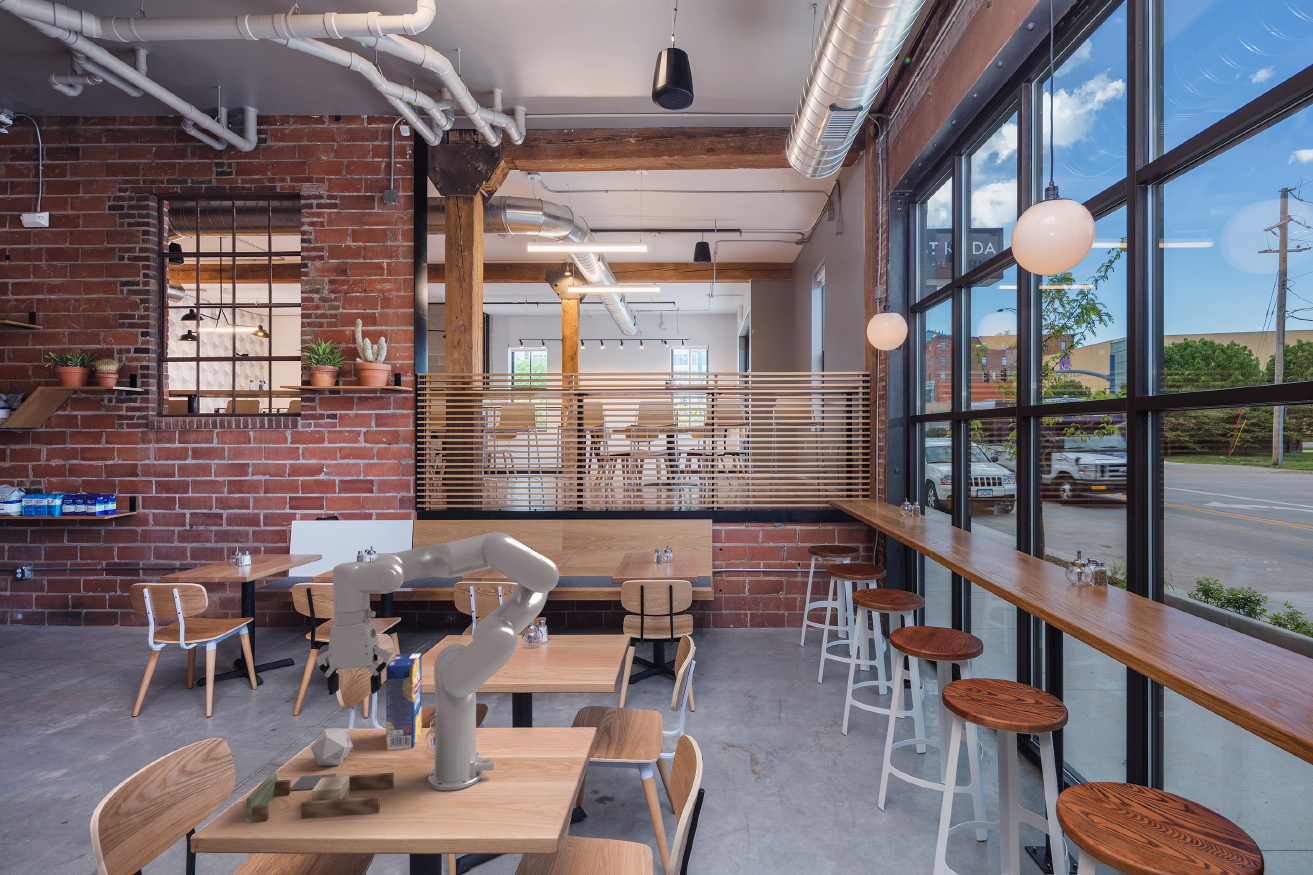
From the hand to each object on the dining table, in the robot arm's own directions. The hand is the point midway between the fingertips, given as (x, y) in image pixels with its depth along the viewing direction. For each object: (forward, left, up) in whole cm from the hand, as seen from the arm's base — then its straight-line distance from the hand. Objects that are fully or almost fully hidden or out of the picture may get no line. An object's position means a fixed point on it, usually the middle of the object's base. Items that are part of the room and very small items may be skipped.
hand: (354, 691), depth 150 cm
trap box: (+6, +1, -24) cm, 25 cm away
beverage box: (-3, -30, -24) cm, 39 cm away
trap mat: (+12, -9, -24) cm, 28 cm away
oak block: (+5, +1, -24) cm, 25 cm away
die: (+12, -19, -24) cm, 33 cm away
